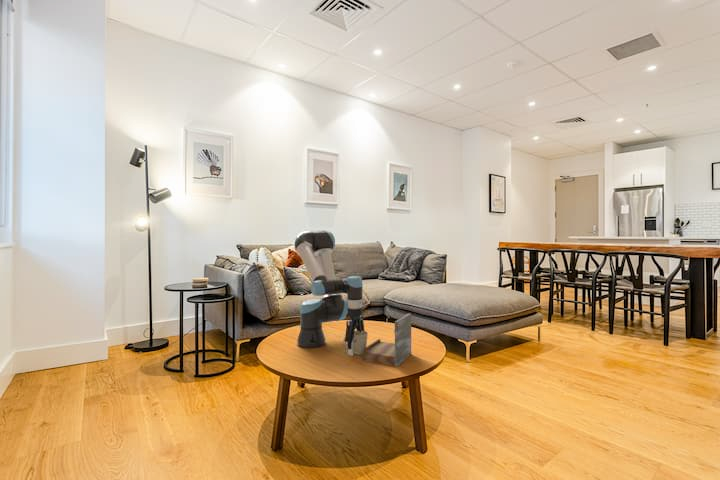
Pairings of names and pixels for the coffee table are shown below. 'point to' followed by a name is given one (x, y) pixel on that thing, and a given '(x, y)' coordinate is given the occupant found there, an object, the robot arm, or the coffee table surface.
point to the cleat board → (392, 345)
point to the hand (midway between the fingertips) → (355, 352)
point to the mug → (358, 342)
